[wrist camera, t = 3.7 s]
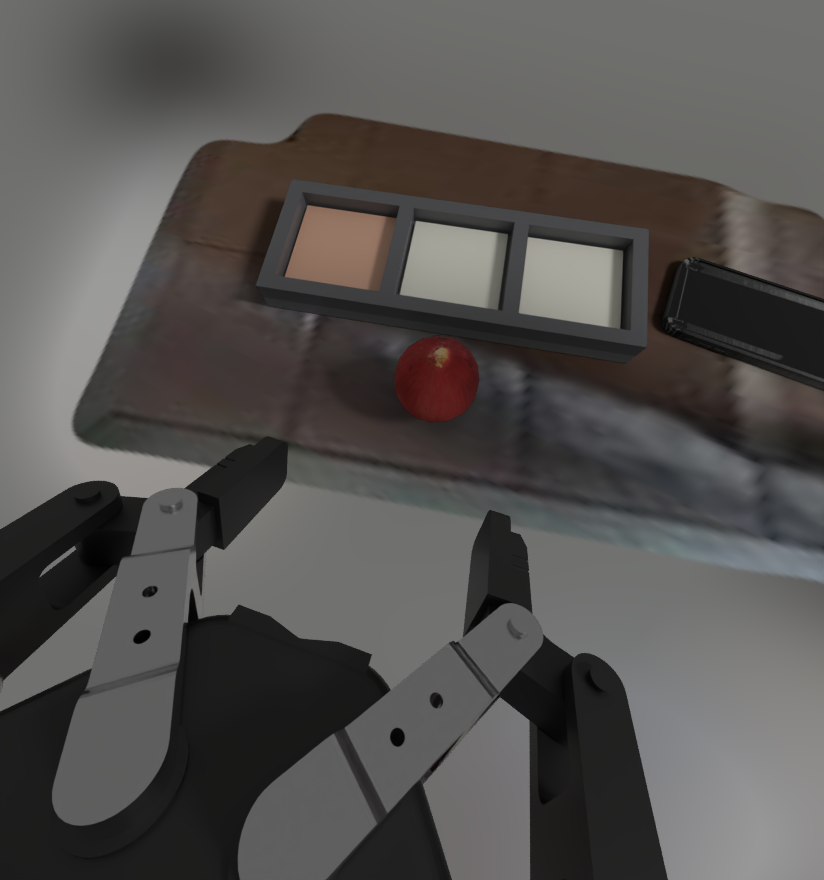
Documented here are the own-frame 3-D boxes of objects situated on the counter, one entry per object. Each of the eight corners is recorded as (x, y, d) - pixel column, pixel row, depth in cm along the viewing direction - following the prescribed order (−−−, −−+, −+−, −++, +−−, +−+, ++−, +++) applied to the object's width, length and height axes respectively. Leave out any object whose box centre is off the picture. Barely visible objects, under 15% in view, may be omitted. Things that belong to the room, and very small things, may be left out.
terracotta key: (397, 222, 30) (396, 218, 30) (378, 299, 28) (378, 296, 28) (309, 209, 31) (307, 205, 30) (284, 285, 29) (282, 281, 28)
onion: (409, 358, 28) (407, 294, 21) (477, 376, 28) (501, 318, 20) (388, 422, 27) (377, 380, 19) (459, 443, 27) (477, 408, 19)
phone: (685, 253, 30) (867, 313, 28) (675, 263, 31) (851, 321, 30) (664, 327, 28) (857, 395, 27) (654, 334, 29) (840, 400, 28)
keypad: (629, 253, 31) (648, 229, 28) (625, 363, 28) (646, 347, 26) (301, 206, 32) (292, 179, 30) (268, 306, 30) (255, 285, 27)
